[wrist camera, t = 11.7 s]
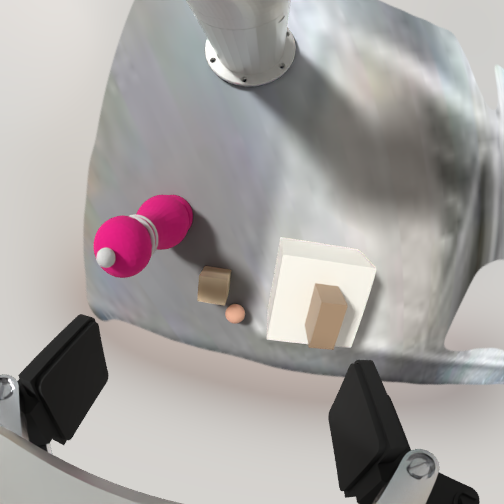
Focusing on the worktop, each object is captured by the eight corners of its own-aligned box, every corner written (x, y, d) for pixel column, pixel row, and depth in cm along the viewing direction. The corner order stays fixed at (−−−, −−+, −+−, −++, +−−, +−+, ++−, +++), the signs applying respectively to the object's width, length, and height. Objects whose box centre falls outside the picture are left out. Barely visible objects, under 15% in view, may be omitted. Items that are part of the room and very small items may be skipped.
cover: (280, 236, 41) (285, 270, 28) (358, 249, 41) (391, 284, 28) (267, 310, 44) (265, 362, 32) (339, 319, 44) (359, 370, 32)
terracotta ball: (227, 299, 44) (225, 308, 41) (246, 302, 44) (245, 311, 41) (226, 315, 45) (223, 325, 42) (244, 318, 45) (242, 328, 42)
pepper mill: (202, 233, 41) (149, 293, 22) (158, 244, 42) (87, 303, 23) (189, 185, 39) (121, 208, 20) (145, 198, 40) (60, 231, 21)
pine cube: (205, 265, 43) (199, 275, 39) (231, 269, 43) (227, 280, 39) (203, 289, 44) (197, 300, 40) (228, 293, 44) (224, 305, 40)
